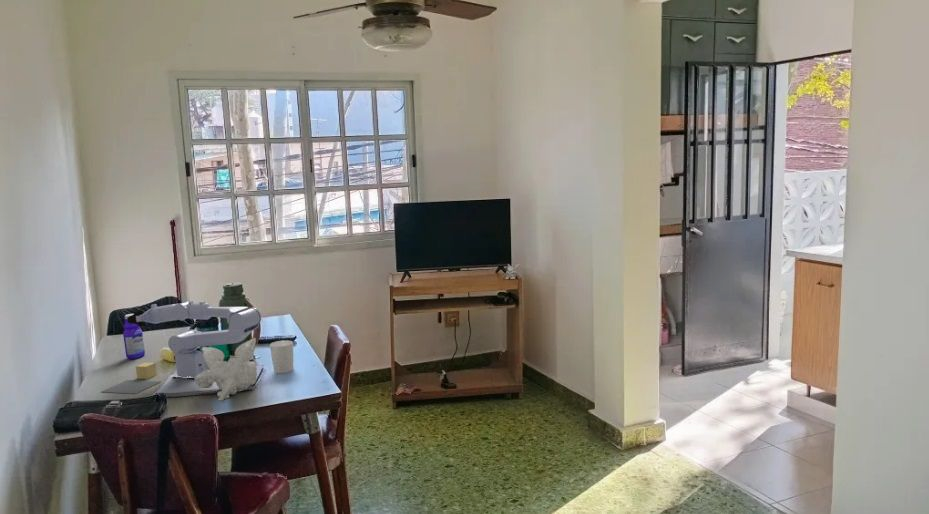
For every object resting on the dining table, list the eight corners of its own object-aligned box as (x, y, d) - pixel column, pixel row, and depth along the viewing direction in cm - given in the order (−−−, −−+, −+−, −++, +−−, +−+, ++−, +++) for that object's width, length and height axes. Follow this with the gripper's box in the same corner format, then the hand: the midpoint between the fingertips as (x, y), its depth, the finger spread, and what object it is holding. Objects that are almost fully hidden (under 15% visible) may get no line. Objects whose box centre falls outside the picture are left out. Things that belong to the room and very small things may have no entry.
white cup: (284, 366, 241) (281, 339, 239) (299, 368, 237) (297, 341, 235) (267, 372, 234) (265, 345, 233) (283, 375, 230) (281, 347, 229)
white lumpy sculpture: (268, 349, 230) (251, 332, 212) (268, 406, 222) (250, 394, 204) (213, 355, 229) (191, 339, 211) (211, 413, 221) (188, 401, 203)
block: (156, 374, 238) (155, 362, 237) (147, 378, 233) (146, 366, 233) (146, 374, 239) (144, 362, 238) (137, 378, 235) (135, 366, 234)
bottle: (135, 360, 258) (130, 316, 255) (123, 359, 259) (117, 316, 257) (148, 354, 265) (143, 312, 263) (135, 354, 266) (130, 312, 264)
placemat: (160, 382, 229) (160, 381, 229) (135, 394, 217) (135, 393, 217) (127, 380, 232) (127, 379, 232) (100, 392, 221) (100, 391, 221)
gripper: (178, 299, 241) (150, 304, 246) (147, 305, 227) (118, 310, 232) (182, 318, 241) (154, 322, 246) (151, 325, 228) (122, 330, 232)
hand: (137, 318), depth 239 cm, fingers open, 7 cm apart
